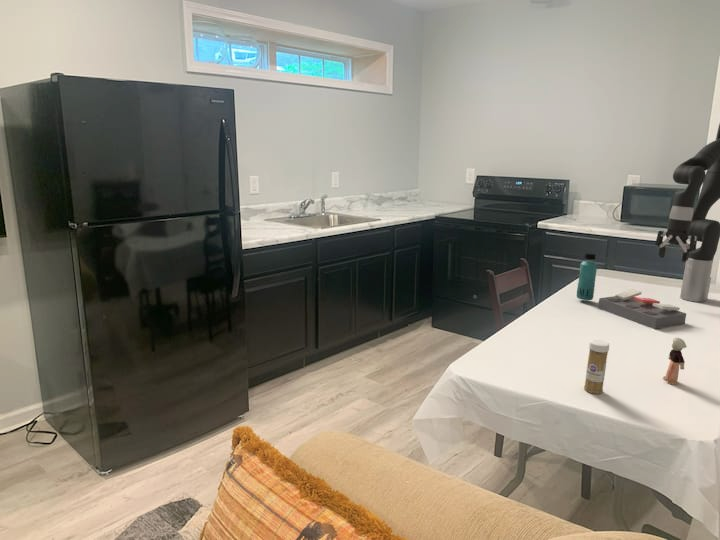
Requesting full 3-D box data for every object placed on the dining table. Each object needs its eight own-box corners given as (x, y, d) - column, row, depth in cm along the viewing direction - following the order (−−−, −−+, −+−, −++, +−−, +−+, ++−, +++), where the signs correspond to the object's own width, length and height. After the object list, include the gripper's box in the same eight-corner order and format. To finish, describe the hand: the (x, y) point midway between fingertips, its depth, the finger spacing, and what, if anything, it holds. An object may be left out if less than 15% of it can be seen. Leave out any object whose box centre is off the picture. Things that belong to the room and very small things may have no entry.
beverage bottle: (590, 299, 219) (596, 251, 214) (595, 304, 212) (601, 255, 208) (573, 298, 219) (579, 251, 215) (578, 303, 213) (584, 254, 208)
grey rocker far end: (668, 309, 196) (669, 304, 195) (678, 312, 192) (679, 307, 192) (651, 307, 192) (653, 302, 192) (661, 310, 188) (663, 305, 188)
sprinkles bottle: (582, 391, 139) (588, 343, 135) (585, 385, 142) (591, 337, 139) (601, 396, 136) (608, 346, 133) (604, 389, 140) (610, 341, 137)
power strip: (626, 304, 213) (627, 293, 212) (684, 324, 191) (686, 312, 190) (598, 308, 208) (599, 297, 207) (654, 329, 185) (656, 317, 184)
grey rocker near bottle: (632, 293, 210) (632, 288, 209) (641, 295, 206) (641, 291, 206) (615, 299, 207) (615, 294, 206) (624, 302, 203) (624, 297, 203)
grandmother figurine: (656, 376, 148) (663, 333, 145) (669, 375, 149) (676, 333, 146) (674, 388, 141) (682, 343, 138) (688, 388, 141) (696, 343, 138)
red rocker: (649, 302, 203) (650, 298, 203) (658, 305, 199) (660, 301, 199) (632, 301, 199) (634, 296, 199) (642, 304, 196) (643, 299, 195)
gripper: (705, 220, 202) (696, 262, 206) (667, 215, 214) (659, 255, 218) (694, 221, 198) (686, 263, 202) (657, 215, 210) (649, 256, 214)
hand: (672, 259), depth 210 cm, fingers open, 8 cm apart
